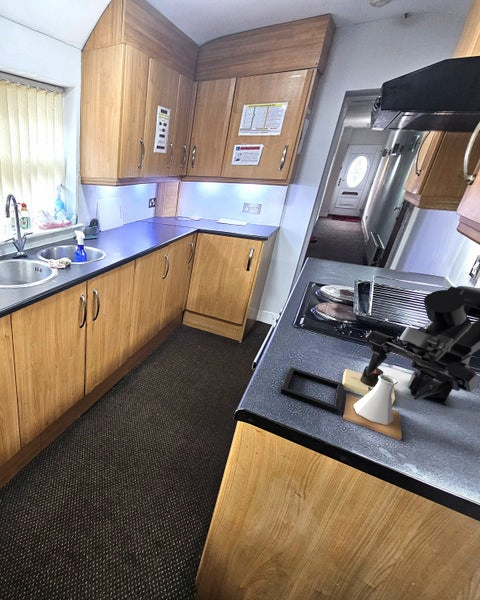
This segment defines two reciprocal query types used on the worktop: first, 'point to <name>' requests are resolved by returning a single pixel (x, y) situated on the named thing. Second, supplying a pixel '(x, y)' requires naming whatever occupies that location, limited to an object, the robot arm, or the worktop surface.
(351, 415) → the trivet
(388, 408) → the flask
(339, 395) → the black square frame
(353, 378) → the cream flat block
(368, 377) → the knob
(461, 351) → the robot arm
